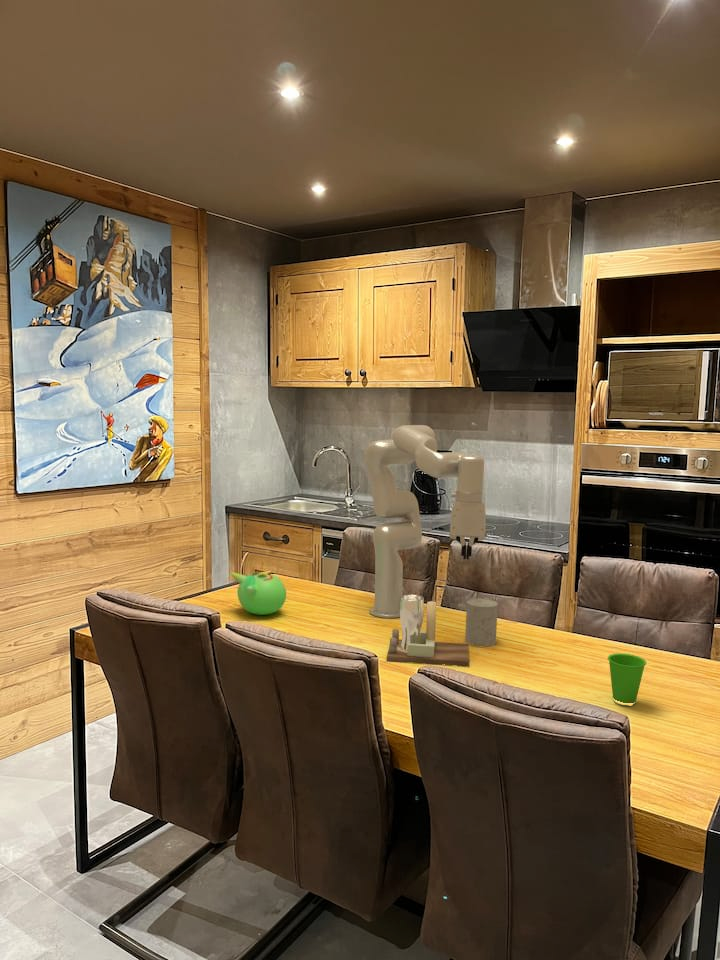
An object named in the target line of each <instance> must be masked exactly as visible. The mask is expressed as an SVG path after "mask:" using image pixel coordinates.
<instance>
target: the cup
mask: <svg viewBox="0 0 720 960" xmlns="http://www.w3.org/2000/svg"><path fill="white" fill-rule="evenodd" d="M607 661H609V670H610V671H609V672H610V673H609V674H610V681H611V683H610V684H611V690H612V692H611V693H612V699H613V698H614V699H615V700H617V701H620V702H623V703H634V702H637V698H638V694H639V691H640V685H641V682H642V677H643V674H644V669H645V666H646V665H647V661H646V660H645V659H644V658H642V657H640V656H638V655H635V654H630V653H623V652H622V653H619V652H618V653H613V654H609V655H608V656H607Z"/></svg>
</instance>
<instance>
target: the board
mask: <svg viewBox="0 0 720 960" xmlns="http://www.w3.org/2000/svg"><path fill="white" fill-rule="evenodd" d="M391 633H392V634H391V637H390V638H389V647H388V649H387V653H386V654H387V655H386V662H390V663H391V662H394V663H406V662H413V663H412V664H421V663H425V664H426V665H440V666H443V665H442V664H445V665H444V666H451V667H453V666H452V665H457V666H456V667H466V666H470V665H469V664H470V663H469V662H470V658H469V644H468V643H462V642H461V643H460V642H447V641H445V642H443V641H435V649H434V658H432V657H417V656H407V654H408V651H406V650H403V649H401V647H400V646H401V641H402V639H400V629H399V628H393V629H392V630H391ZM421 644H426V643H421Z"/></svg>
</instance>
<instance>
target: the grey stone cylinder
mask: <svg viewBox="0 0 720 960" xmlns="http://www.w3.org/2000/svg"><path fill="white" fill-rule="evenodd" d="M498 603H499V602H497V601H495V600H493V599H489V598H482V597H479V598H470V599H467V600H466V603H465V604H466V610H465V611H466V613H465V638H464V642H465V643H466V642H467V643H466V644H468V645H470V644H471V646H473V647H474V646H475V647H480V646H481V647H483V648H485V647H492V646H495V645H496V644H497V629H498V628H497V627H498V605H499V604H498ZM481 647H480V648H481Z"/></svg>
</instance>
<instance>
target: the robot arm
mask: <svg viewBox="0 0 720 960" xmlns="http://www.w3.org/2000/svg"><path fill="white" fill-rule="evenodd" d="M364 462H365V464H364V465H365V467H366V471H367V474H368V476H369V480H370V488H371V496H372V503H373V510H374V514H375V516H376V517H377V518H378V519H382V520H389V519H390V520H391V519H400V521H394V522H393V521H392V522H385V523H381V524H379V525H378V526H376V527H375V528H374V530H373V532H372V541H373V547H374V560H375V561H374V562H375V564H374V565H375V567H374V569H375V570H374V606H372V607H370V608H369V614H371V615H372V616H374V617H378V618H384V619H394V618H400V604H401V597H402V596H403V576H404V575H403V573H404V570H403V569H404V564H403V560H402V558H401V556H400V554H399V552H398V551H401V550H408V549H414V548H417V547H418V546H420V544H421V542H422V539H423V538H422V537H423V535H422V534H423V531H422V522H421V517H420V516H421V514H420V508H419V501H418V499H417V497H416V495H415V494H414V493H413V492H411V491H409V490H398V489H397V483H396V478H395V476H394V474H393V472H392V470H391V469H390V468H389V467H388V466H387V465H409V464H412V463H414V462H415V463H416V466H417V468H418V469H419V470H420V471H421V472H422V473H425V474H427V475H428V476H430V477H432V478H436V479H442V478H443V479H444V478H447V479H448V478H457V480H456V481H457V483H456V491H455V492H451V498H454V499H456V500H454V501H453V503H452V509H451V513H450V514H451V515H450V523H449V524H450V525H449V526H450V527H449V535H448V537H449V538H450V539H453V540H455V541H457V542H458V543H459V544H460V546H461V548H460V549H461V551H460V552H461V553H460V555H461V557H462V559H463V560H470V558H469V557H472V547H473V546H474V545H475V544H477V542H481V541H485V540H486V520H487V519H486V515H487V513H486V505H485V502H483V490H484V489H483V488H484V474H485V473H484V472H485V459H484V458H483V457H482V456H481V455H474V454H470V453H467V452H462V451H461V452H460V451H457V452H456V451H455V452H452V451H451V452H449V451H448V452H438V442H437V440H436V434H435V432H434V430H433V428H431V427H430V426H428V425H424V424H406V425H405V424H404V425H400V426H399V427H397V428H396V429H394V431H393V433H392V435H391V439H379V440H375V441H371V443H369V445H368V446H367V448H366V450H365V453H364ZM465 537H469V539H468V540H469V541H468V542H466V539H465Z"/></svg>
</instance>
